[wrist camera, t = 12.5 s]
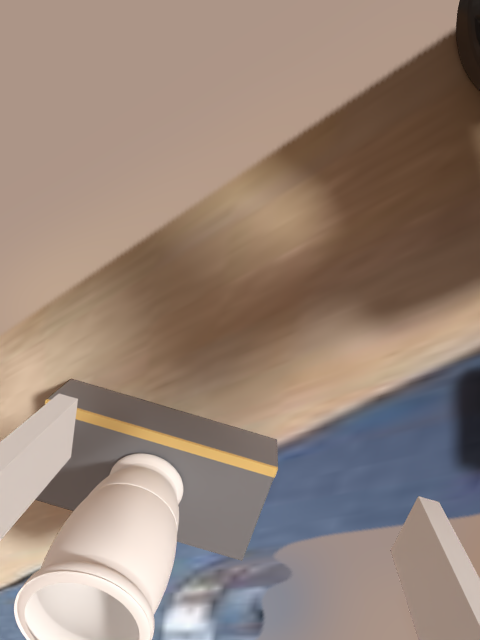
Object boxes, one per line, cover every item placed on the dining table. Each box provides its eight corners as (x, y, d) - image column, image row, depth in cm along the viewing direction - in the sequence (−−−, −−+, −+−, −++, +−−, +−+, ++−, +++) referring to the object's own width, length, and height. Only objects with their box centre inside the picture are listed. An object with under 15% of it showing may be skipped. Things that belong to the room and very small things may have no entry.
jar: (92, 500, 43) (1, 646, 28) (115, 429, 40) (27, 553, 25) (176, 531, 43) (130, 692, 28) (205, 464, 40) (169, 605, 25)
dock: (276, 439, 44) (277, 469, 39) (244, 526, 48) (242, 563, 43) (71, 378, 44) (45, 400, 39) (56, 470, 48) (31, 501, 43)
